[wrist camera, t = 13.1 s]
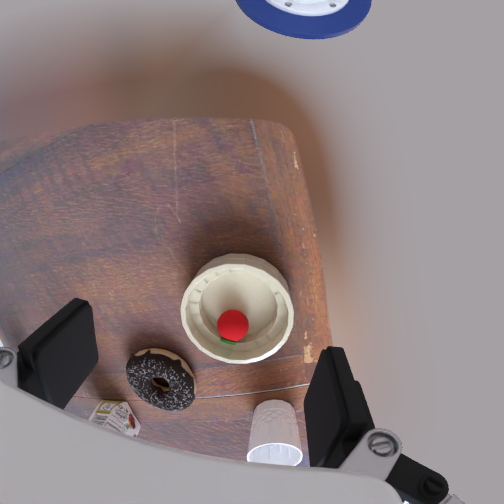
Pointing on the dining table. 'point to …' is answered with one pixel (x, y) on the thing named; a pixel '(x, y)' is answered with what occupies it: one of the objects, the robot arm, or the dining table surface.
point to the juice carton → (116, 417)
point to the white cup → (274, 434)
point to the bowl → (238, 307)
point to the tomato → (232, 326)
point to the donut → (162, 366)
